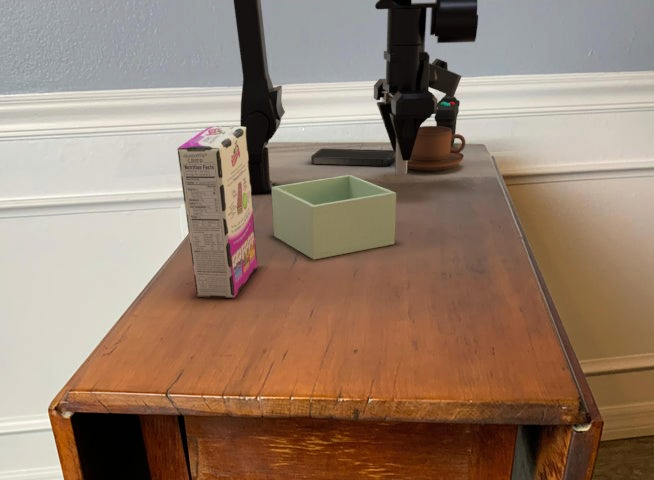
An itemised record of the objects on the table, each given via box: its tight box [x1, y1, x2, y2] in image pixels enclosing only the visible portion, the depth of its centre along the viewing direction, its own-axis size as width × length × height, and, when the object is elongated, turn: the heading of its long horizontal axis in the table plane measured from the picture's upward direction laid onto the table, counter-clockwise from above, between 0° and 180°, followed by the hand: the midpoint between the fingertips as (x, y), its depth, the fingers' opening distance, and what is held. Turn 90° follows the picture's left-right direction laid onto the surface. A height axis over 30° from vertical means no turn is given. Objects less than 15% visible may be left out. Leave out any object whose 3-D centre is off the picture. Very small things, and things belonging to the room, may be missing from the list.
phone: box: [310, 148, 396, 167], centre depth 148 cm, size 8×1×15 cm
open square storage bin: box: [271, 174, 397, 261], centre depth 107 cm, size 12×12×7 cm
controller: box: [434, 94, 461, 148], centre depth 151 cm, size 4×12×10 cm, turn 168°
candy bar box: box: [176, 125, 258, 299], centre depth 91 cm, size 11×5×16 cm, turn 168°
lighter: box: [394, 138, 408, 175], centre depth 127 cm, size 7×2×8 cm, turn 176°
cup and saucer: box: [395, 125, 466, 172], centre depth 140 cm, size 12×12×6 cm
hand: (401, 155), depth 128 cm, fingers closed on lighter, 7 cm apart
